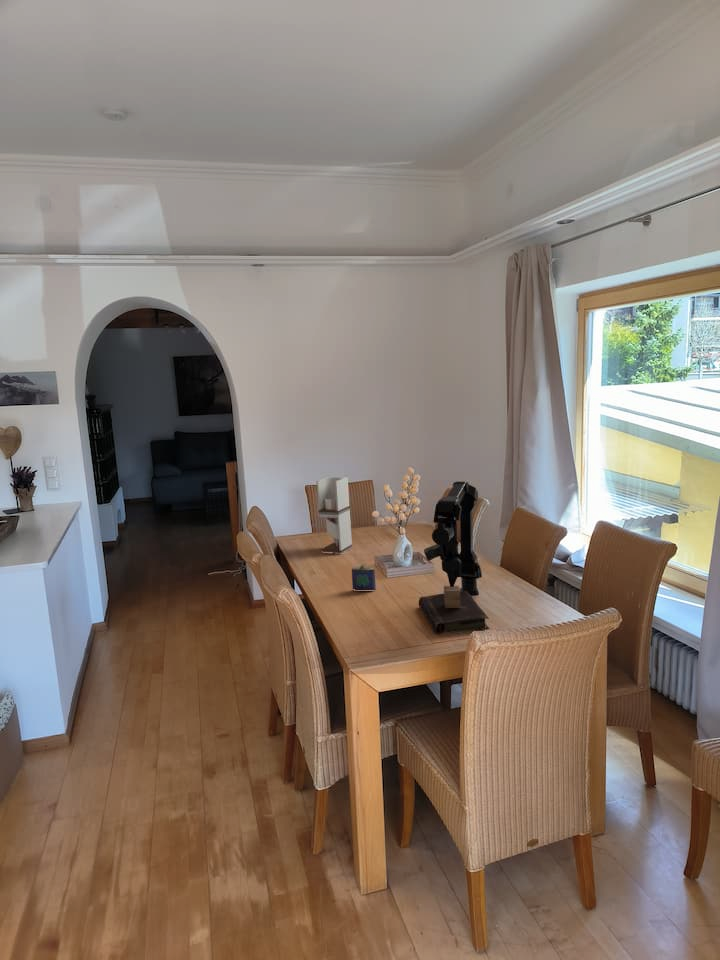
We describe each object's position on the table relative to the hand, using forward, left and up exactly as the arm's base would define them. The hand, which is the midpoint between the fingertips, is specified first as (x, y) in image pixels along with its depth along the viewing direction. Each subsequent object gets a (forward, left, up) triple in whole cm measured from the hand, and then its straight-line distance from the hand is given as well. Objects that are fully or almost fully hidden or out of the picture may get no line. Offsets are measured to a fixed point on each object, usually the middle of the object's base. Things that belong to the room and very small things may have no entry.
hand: (450, 582), depth 213 cm
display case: (-88, -49, -13) cm, 102 cm away
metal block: (0, 0, -8) cm, 8 cm away
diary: (0, 0, -13) cm, 13 cm away
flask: (-30, -32, -13) cm, 46 cm away
